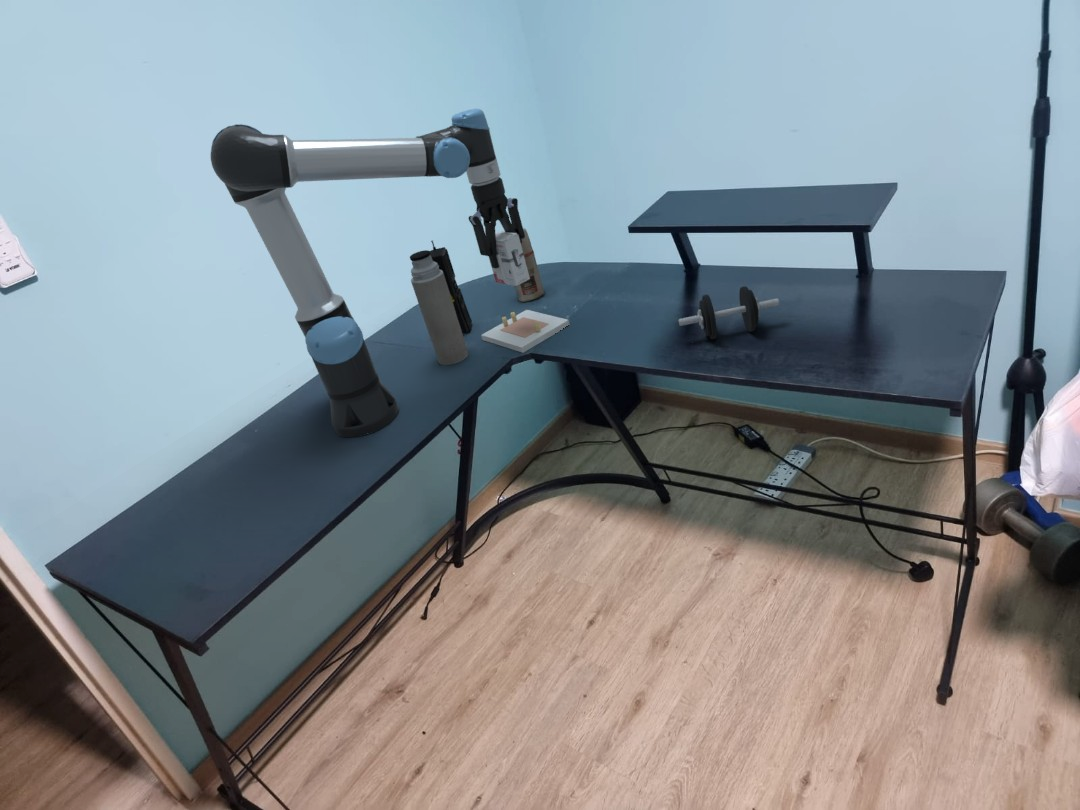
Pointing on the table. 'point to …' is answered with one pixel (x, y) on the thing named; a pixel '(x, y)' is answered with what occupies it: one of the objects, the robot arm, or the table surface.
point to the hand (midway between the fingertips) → (510, 274)
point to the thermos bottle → (437, 309)
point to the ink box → (511, 258)
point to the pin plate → (524, 330)
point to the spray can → (533, 285)
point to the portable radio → (452, 287)
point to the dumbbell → (729, 312)
